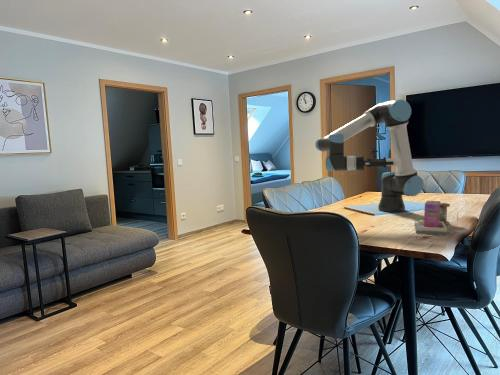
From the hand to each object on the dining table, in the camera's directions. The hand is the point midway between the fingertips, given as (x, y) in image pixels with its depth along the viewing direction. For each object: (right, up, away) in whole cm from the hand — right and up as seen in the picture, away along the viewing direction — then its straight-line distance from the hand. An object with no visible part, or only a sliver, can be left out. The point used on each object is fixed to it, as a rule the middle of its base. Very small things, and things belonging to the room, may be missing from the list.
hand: (400, 161), depth 183 cm
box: (+10, -32, -12) cm, 35 cm away
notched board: (+10, -33, -12) cm, 36 cm away
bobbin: (+21, -31, 0) cm, 37 cm away
